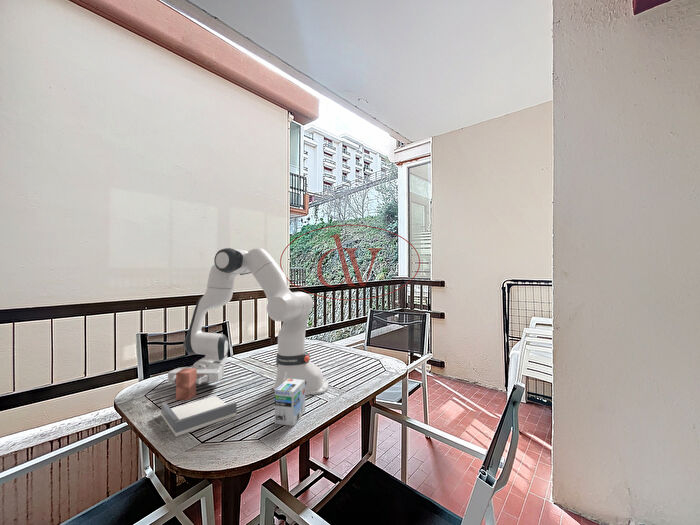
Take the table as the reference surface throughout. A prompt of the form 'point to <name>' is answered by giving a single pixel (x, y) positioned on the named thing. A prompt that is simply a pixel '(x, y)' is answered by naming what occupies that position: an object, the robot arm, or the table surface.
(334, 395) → the table surface
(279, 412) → the light bulb box
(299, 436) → the table surface
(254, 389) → the table surface
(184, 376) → the brick-red block
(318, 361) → the table surface
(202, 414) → the tray
